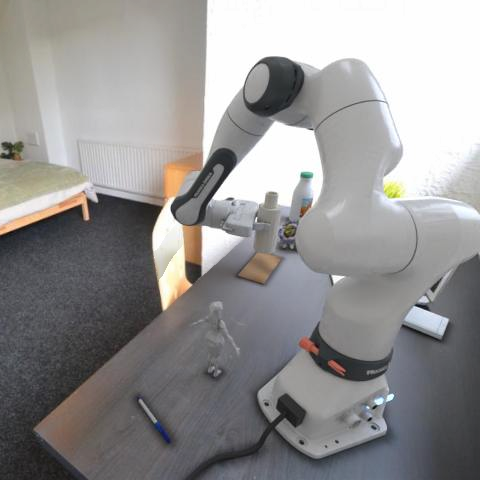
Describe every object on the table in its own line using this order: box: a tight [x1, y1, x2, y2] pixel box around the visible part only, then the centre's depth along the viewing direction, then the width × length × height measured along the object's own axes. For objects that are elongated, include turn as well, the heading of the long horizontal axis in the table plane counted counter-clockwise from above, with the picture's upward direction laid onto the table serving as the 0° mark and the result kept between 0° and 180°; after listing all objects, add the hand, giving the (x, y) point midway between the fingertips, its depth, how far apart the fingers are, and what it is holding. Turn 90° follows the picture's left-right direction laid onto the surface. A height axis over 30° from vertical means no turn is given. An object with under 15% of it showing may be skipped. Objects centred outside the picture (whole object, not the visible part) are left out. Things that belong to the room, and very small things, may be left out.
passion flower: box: [277, 219, 301, 250], centre depth 116 cm, size 11×11×12 cm
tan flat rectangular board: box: [237, 252, 283, 285], centre depth 105 cm, size 18×8×1 cm, turn 146°
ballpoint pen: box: [136, 396, 172, 444], centre depth 60 cm, size 10×1×1 cm, turn 36°
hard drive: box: [402, 305, 450, 340], centre depth 82 cm, size 2×8×12 cm
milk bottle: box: [288, 171, 315, 221], centre depth 133 cm, size 8×8×20 cm
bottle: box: [252, 190, 283, 255], centre depth 98 cm, size 6×6×18 cm
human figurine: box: [189, 300, 242, 378], centre depth 64 cm, size 12×4×18 cm, turn 45°
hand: (271, 221), depth 98 cm, fingers closed on bottle, 6 cm apart
